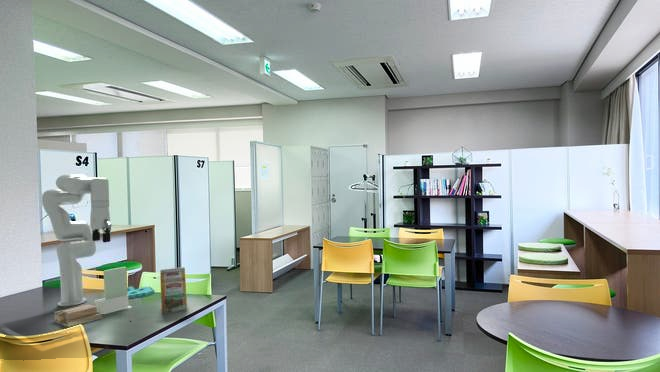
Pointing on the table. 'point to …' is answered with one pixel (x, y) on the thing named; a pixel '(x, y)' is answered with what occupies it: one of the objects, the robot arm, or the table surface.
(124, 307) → the stand
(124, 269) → the sheet
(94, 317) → the rack
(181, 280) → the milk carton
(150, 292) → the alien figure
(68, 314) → the offcut upper
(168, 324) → the table surface
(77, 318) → the offcut lower
